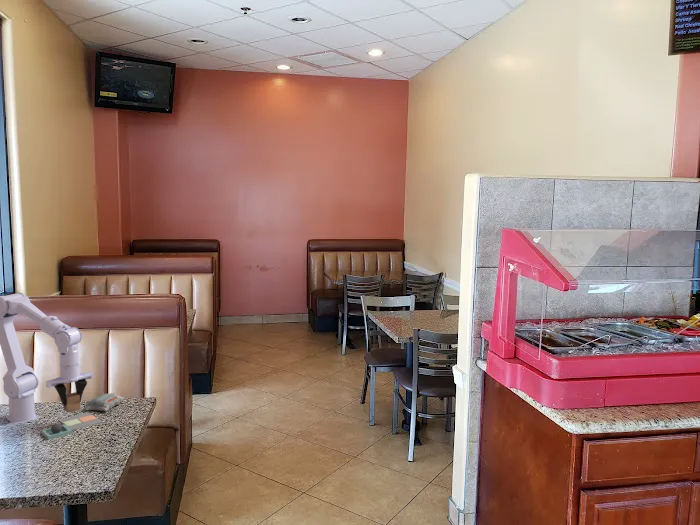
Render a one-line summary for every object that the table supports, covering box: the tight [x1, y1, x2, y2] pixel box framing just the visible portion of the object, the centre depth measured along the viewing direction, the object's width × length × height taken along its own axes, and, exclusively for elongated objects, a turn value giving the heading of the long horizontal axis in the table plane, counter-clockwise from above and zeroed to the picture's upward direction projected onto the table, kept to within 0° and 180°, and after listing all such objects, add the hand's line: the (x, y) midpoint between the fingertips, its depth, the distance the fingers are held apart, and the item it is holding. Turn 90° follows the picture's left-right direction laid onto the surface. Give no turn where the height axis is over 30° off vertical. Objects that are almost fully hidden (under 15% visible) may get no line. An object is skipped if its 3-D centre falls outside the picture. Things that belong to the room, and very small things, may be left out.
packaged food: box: [85, 393, 126, 412], centre depth 204 cm, size 9×12×5 cm
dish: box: [41, 424, 73, 440], centre depth 180 cm, size 7×7×2 cm
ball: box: [50, 423, 62, 434], centre depth 180 cm, size 3×3×3 cm
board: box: [58, 411, 103, 431], centre depth 190 cm, size 12×10×1 cm
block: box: [63, 391, 81, 413], centre depth 187 cm, size 4×4×5 cm
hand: (71, 403), depth 188 cm, fingers closed on block, 4 cm apart
